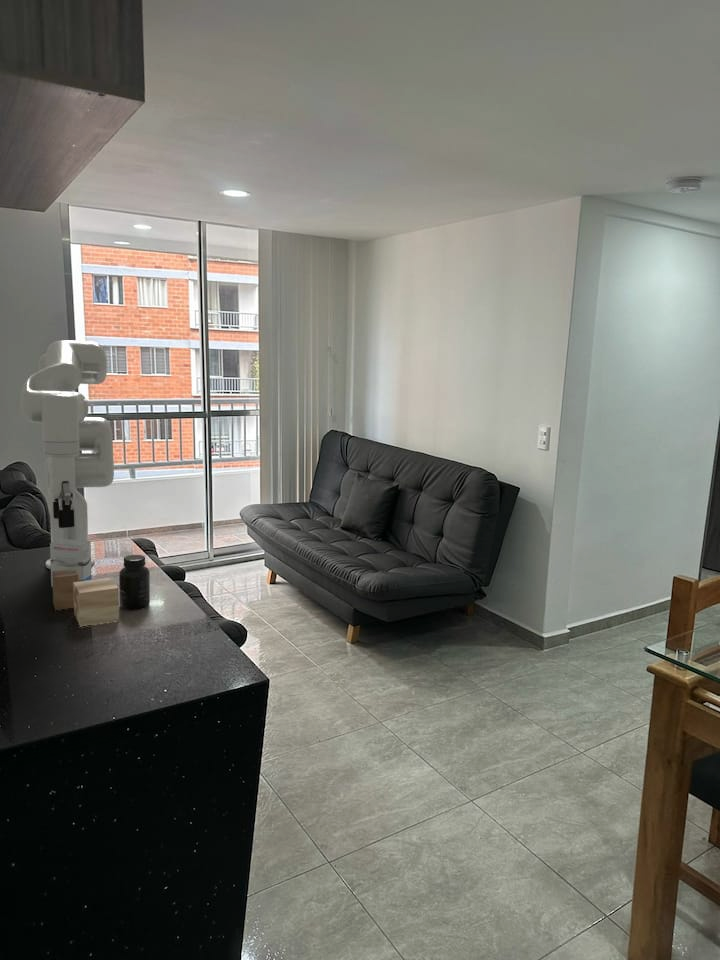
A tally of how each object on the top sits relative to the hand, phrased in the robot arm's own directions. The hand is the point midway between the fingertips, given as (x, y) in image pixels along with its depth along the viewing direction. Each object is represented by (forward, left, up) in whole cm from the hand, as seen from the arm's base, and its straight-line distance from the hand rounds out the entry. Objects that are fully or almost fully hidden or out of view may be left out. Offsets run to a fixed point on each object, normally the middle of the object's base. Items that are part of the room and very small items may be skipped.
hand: (63, 522), depth 150 cm
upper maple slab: (+11, +5, -16) cm, 20 cm away
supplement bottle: (+6, +14, -20) cm, 26 cm away
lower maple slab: (+11, +5, -20) cm, 24 cm away
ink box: (-14, +3, -20) cm, 25 cm away
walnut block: (0, 0, -20) cm, 20 cm away
